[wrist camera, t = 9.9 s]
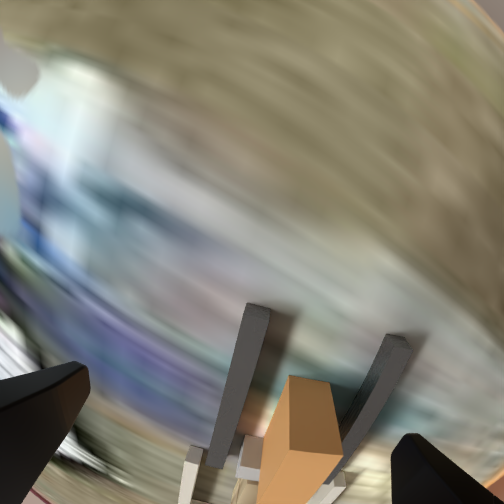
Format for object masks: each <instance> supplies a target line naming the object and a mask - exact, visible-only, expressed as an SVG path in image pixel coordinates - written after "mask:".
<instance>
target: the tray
mask: <svg viewBox="0 0 504 504" xmlns="http://www.w3.org/2000/svg"><path fill="white" fill-rule="evenodd" d="M203 450H204V449H201V448H198V447H194V446H191V445H190V448H189V451H188V453H187V456H186V459H185V462H184V469H183V475H182V481H181V487H180V494H179V500H178V504H210V503H206V502H202V501H198V500H194V499H192V496H193V492H194V488H195V483H196V479H197V475H198V471H199V467H200V462H201V458H202V454H203ZM345 488H346V481H345V475H344V471H339V473H338V474H337V475H336V477H335V478H334V479H333V480H332V482H331V483H330V484H329V485H325V484H322V485H321V486H320V488H319V489H318V490H317V491H316V493H315V494H314V495H313V496H312V497H311V499H310V500H309V501H308V502H307V503H306V504H331V503H332V502H333V501H334V500H335V499H336V498H337V497H338V496H339V495H340V494H341V492H342V491H343V490H344V489H345Z"/></svg>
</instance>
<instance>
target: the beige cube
mask: <svg viewBox="0 0 504 504" xmlns="http://www.w3.org/2000/svg"><path fill="white" fill-rule="evenodd" d="M258 484H259V482H258V481H252V480H247V479H242V478H241V481H240V487H239V493H238V499H237V504H256V502H257V493H258Z"/></svg>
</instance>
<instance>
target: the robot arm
mask: <svg viewBox="0 0 504 504" xmlns="http://www.w3.org/2000/svg"><path fill="white" fill-rule="evenodd" d="M90 389H91V387H90V379H89V371H88V368H87V366H86V365H84V364H81V363H79V362H77V361H72V362H68V363H65V364H61V365H58V366H54V367H50V368H47V369H43V370H39V371H35V372H31V373H27V374H24V375H20V376H16V377H12V378H7V379H3V380H0V504H21V503H22V502H23V500H24V498H25V497H26V495H27V494H28V492H29V491H30V489H31V488H32V486H33V485H34V483H35V482H36V480H37V479H38V477H39V475H40V474H41V472H42V471H43V469H44V468H45V466H46V465H47V464H48V462H49V461H50V459H51V458H52V456H53V455H54V453H55V452H56V450H57V449H58V447H59V446H60V444H61V443H62V442H63V440H64V439H65V437H66V436H67V434H68V433H69V431H70V429H71V427H72V426H73V424H74V422H75V420H76V418H77V416H78V414H79V412H80V410H81V409H82V407H83V405H84V403H85V401H86V399H87V398H88V396H89V394H90ZM391 488H392V504H504V502H503V501H501V500H500V499H499V498H498V497H496V496H494V495H493V494H492V493H491V492H490V491H489V490H487V489H486V488H485V487H484V486H482V485H481V484H480V483H479V482H477V481H476V480H475V479H474V478H472V477H471V476H470V475H469V474H467V473H466V472H465V471H464V470H462V469H461V468H460V467H459V466H457V465H456V464H455V463H454V462H453V461H451V460H450V459H449V458H448V457H446V456H445V455H444V454H443V453H442V452H440V451H439V450H438V449H437V448H436V447H434V446H433V445H432V444H431V443H430V442H428V441H427V440H426V439H425V438H424V437H422V436H421V435H420V434H418V433H407V434H405V435H404V436H403V437H402V439H401V440H400V441H399V443H398V444H397V446H396V447H395V449H394V450H393V452H392V454H391Z"/></svg>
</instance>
